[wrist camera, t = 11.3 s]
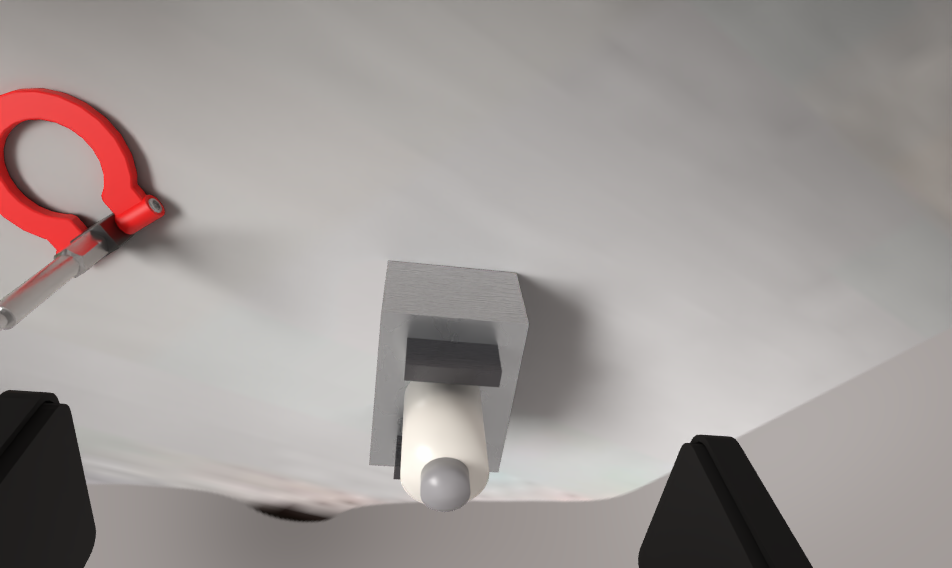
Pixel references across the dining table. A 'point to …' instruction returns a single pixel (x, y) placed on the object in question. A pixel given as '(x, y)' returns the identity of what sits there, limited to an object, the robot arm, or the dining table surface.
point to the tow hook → (67, 230)
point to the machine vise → (447, 347)
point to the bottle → (443, 445)
